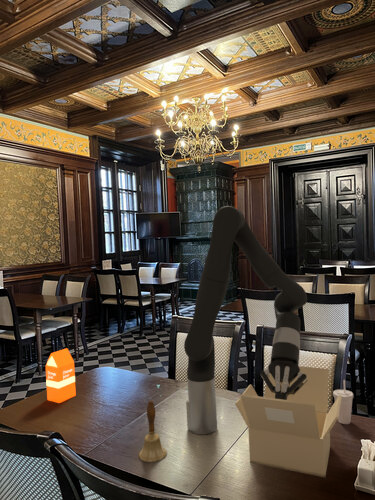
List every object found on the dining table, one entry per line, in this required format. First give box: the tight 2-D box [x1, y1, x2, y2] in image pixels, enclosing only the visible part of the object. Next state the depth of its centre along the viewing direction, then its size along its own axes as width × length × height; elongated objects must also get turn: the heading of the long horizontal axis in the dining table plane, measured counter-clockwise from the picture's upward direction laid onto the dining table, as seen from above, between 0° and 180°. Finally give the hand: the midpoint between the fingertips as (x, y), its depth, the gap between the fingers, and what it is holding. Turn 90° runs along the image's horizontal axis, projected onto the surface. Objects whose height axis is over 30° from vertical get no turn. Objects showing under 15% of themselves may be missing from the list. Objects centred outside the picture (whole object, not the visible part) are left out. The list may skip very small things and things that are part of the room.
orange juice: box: [45, 347, 77, 404], centre depth 161 cm, size 8×9×20 cm
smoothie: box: [332, 379, 354, 425], centre depth 128 cm, size 6×6×14 cm
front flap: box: [240, 393, 320, 439], centre depth 99 cm, size 18×14×1 cm
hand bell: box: [138, 400, 168, 463], centre depth 113 cm, size 8×8×16 cm
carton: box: [234, 365, 342, 478], centre depth 115 cm, size 28×26×20 cm
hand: (280, 408), depth 97 cm, fingers closed
